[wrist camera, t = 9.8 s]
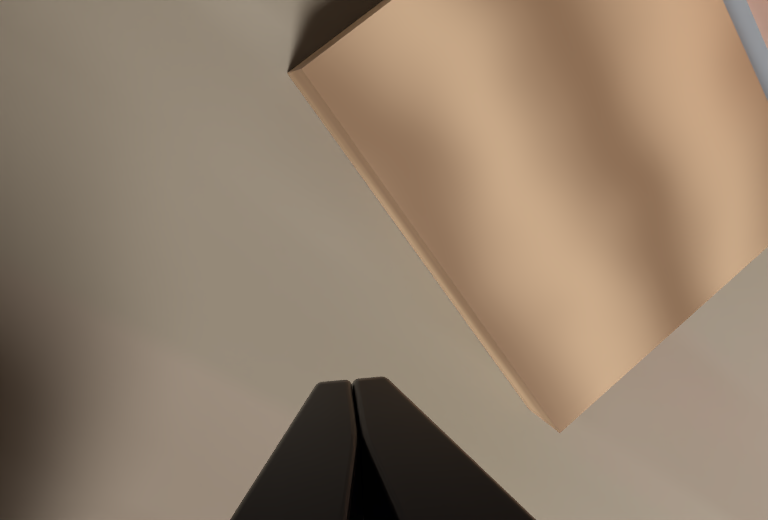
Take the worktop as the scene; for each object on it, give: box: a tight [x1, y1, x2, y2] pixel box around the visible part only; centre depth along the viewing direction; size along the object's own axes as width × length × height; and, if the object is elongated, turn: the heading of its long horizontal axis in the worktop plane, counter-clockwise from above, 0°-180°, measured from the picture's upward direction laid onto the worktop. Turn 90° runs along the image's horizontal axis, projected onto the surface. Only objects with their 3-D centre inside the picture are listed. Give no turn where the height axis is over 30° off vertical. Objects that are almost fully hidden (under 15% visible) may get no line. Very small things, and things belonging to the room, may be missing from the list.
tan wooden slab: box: [287, 0, 768, 433], centre depth 22 cm, size 12×14×2 cm
